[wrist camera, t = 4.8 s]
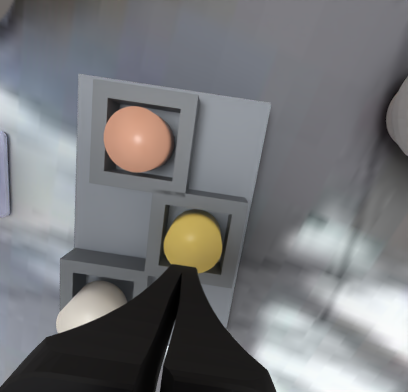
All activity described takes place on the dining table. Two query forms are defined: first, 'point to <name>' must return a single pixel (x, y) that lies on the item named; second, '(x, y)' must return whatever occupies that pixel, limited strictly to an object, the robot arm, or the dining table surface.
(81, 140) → the panel
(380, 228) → the dining table surface
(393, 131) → the teacup
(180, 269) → the robot arm
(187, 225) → the button mustard
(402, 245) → the dining table surface
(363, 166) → the dining table surface
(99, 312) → the button cream
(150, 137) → the button terracotta
